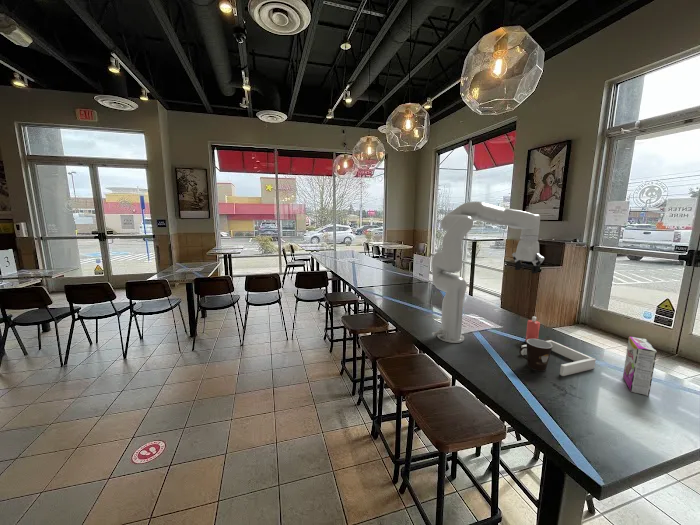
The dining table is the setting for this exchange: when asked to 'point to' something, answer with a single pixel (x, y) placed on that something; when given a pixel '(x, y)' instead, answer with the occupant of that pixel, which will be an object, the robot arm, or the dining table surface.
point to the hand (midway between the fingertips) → (525, 271)
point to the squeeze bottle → (532, 329)
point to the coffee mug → (537, 354)
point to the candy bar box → (639, 365)
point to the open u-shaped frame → (581, 359)
